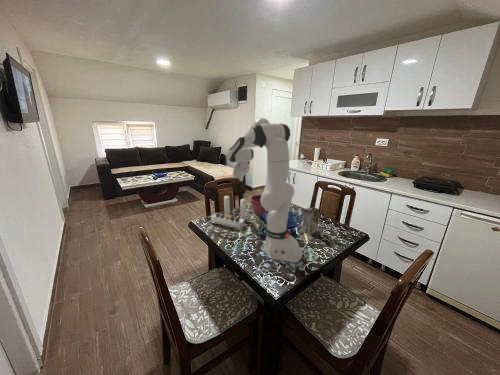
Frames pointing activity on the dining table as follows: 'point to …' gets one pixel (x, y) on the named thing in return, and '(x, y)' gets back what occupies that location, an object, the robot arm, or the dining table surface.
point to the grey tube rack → (228, 220)
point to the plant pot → (257, 204)
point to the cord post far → (226, 205)
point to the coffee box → (310, 220)
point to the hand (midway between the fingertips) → (241, 180)
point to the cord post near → (243, 208)
